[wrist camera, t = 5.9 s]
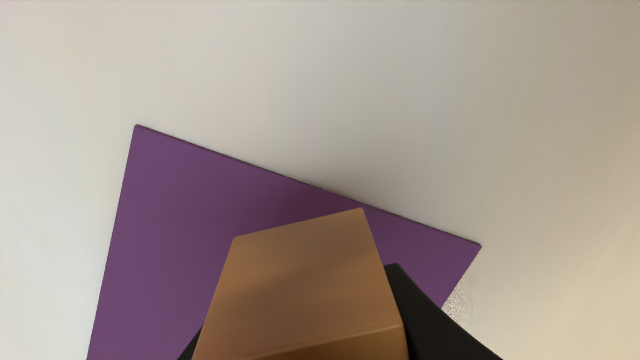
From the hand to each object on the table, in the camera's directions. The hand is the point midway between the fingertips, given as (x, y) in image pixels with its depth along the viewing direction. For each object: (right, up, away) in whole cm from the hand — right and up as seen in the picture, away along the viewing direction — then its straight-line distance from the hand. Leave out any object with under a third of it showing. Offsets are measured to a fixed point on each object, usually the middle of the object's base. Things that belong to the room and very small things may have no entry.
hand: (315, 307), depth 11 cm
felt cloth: (-3, -5, +11) cm, 13 cm away
